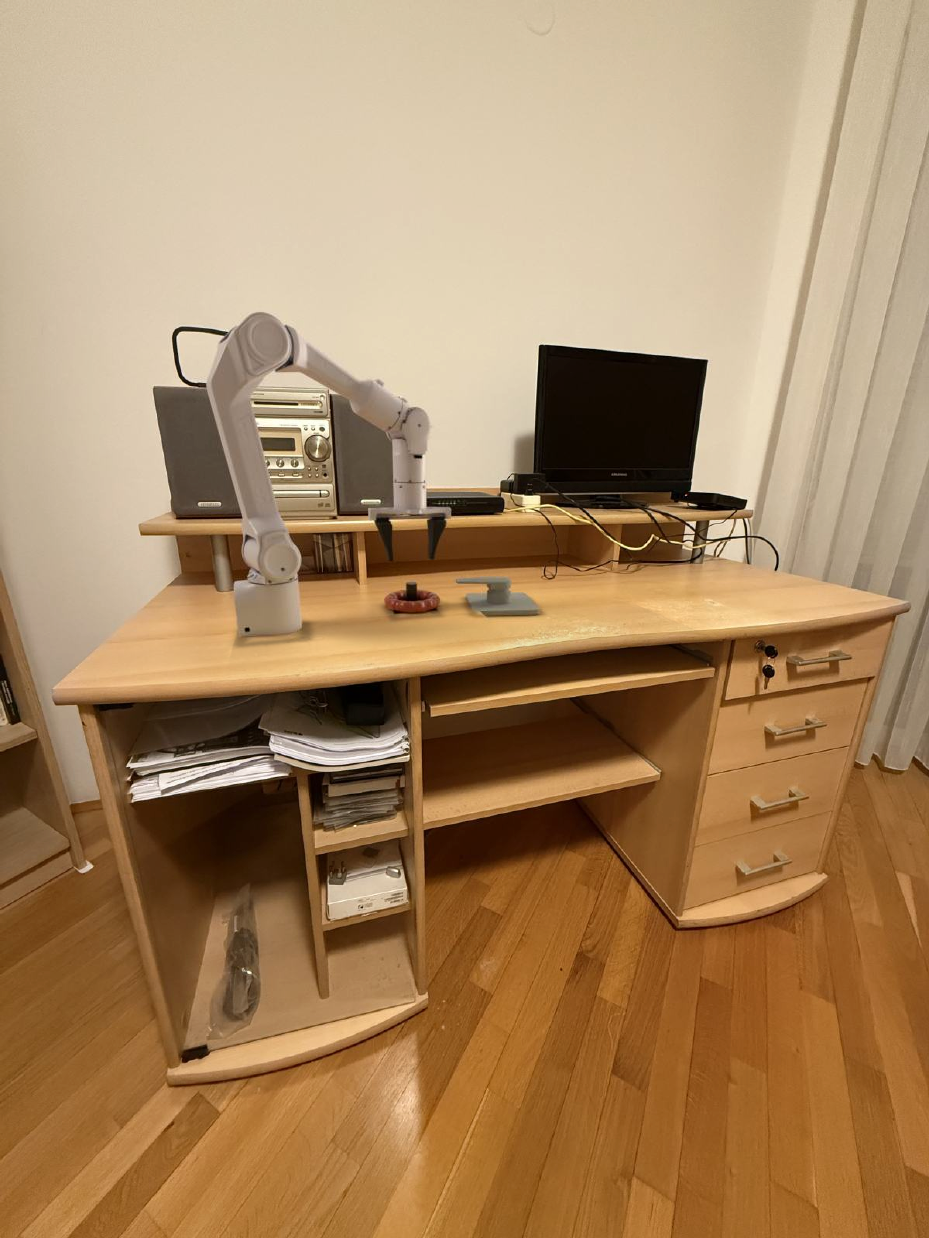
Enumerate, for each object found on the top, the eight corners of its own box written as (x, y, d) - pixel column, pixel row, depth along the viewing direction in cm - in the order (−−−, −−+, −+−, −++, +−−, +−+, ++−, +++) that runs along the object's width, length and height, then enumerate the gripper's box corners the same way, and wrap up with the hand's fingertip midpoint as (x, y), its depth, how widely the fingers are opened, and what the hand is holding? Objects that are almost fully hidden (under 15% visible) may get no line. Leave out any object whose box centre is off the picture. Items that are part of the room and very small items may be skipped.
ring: (390, 616, 84) (390, 604, 84) (380, 600, 93) (380, 590, 93) (446, 611, 87) (446, 600, 87) (431, 596, 96) (431, 587, 96)
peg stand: (394, 619, 86) (393, 590, 84) (386, 606, 93) (385, 579, 91) (438, 615, 88) (438, 587, 87) (427, 603, 95) (427, 577, 94)
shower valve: (452, 571, 98) (525, 570, 100) (452, 597, 100) (524, 596, 101) (459, 587, 86) (542, 585, 88) (459, 616, 88) (540, 614, 90)
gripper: (371, 483, 79) (374, 565, 83) (456, 483, 84) (455, 561, 88) (365, 481, 86) (368, 557, 90) (445, 481, 90) (444, 554, 94)
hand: (410, 559), depth 89 cm, fingers open, 7 cm apart
